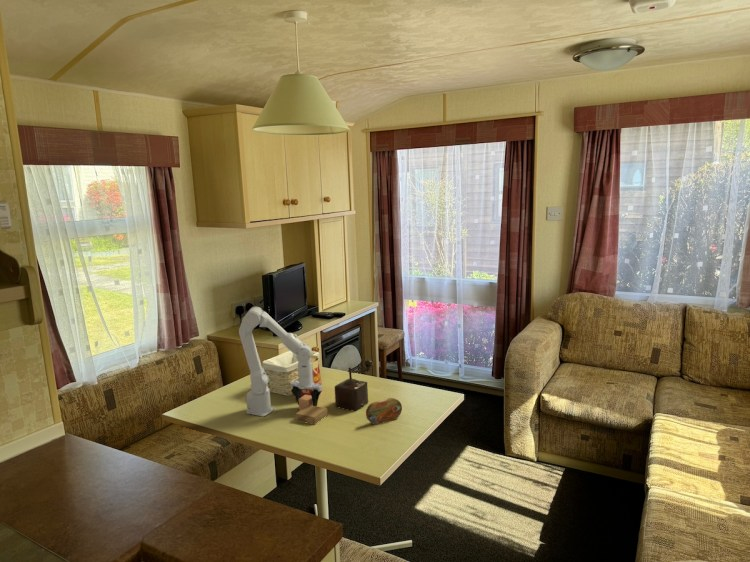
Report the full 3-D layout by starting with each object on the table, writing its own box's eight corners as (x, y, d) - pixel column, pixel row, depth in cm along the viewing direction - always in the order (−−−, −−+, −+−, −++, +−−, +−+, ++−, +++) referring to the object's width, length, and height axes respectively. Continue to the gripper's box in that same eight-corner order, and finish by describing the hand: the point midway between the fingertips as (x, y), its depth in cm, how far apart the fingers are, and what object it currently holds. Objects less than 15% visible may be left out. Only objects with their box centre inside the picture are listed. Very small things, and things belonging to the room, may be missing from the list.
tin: (368, 426, 198) (367, 406, 196) (365, 423, 201) (364, 403, 199) (402, 417, 205) (401, 397, 203) (398, 414, 207) (397, 394, 206)
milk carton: (297, 398, 229) (294, 354, 226) (307, 390, 238) (304, 348, 234) (315, 400, 226) (312, 356, 222) (325, 392, 234) (322, 350, 231)
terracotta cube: (299, 410, 216) (298, 398, 215) (306, 405, 220) (305, 394, 220) (309, 412, 214) (308, 400, 213) (315, 407, 218) (315, 396, 217)
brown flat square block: (296, 420, 206) (295, 413, 205) (309, 411, 214) (308, 405, 213) (314, 424, 202) (314, 417, 201) (327, 415, 210) (327, 408, 209)
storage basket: (288, 398, 229) (285, 366, 227) (262, 391, 238) (259, 361, 236) (322, 381, 249) (321, 351, 246) (297, 375, 258) (295, 347, 255)
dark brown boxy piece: (356, 412, 212) (354, 370, 209) (334, 407, 217) (332, 366, 214) (376, 398, 224) (374, 359, 221) (355, 394, 230) (353, 355, 227)
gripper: (285, 375, 214) (287, 406, 216) (315, 379, 208) (317, 411, 210) (295, 369, 220) (297, 399, 223) (324, 373, 214) (326, 404, 216)
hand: (307, 405), depth 217 cm, fingers open, 7 cm apart
